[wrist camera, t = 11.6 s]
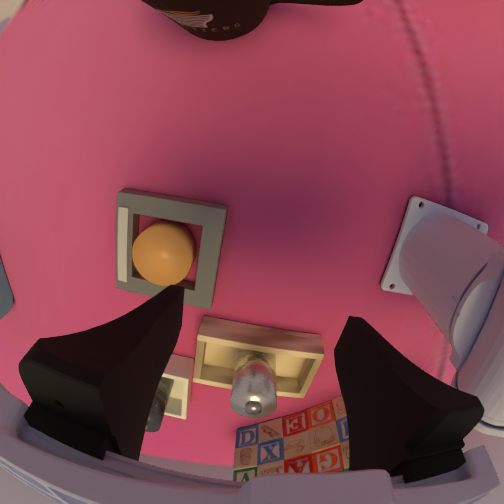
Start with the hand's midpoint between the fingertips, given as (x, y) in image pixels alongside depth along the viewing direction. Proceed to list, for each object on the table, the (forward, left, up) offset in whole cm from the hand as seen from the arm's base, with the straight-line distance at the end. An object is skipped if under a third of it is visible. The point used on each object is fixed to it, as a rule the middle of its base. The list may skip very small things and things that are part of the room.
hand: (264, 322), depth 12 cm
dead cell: (+7, +16, -9) cm, 20 cm away
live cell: (-1, +10, -9) cm, 14 cm away
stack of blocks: (-12, +20, -10) cm, 25 cm away
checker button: (+7, +2, -10) cm, 12 cm away
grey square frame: (+7, +2, -10) cm, 12 cm away
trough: (-2, +10, -10) cm, 15 cm away
